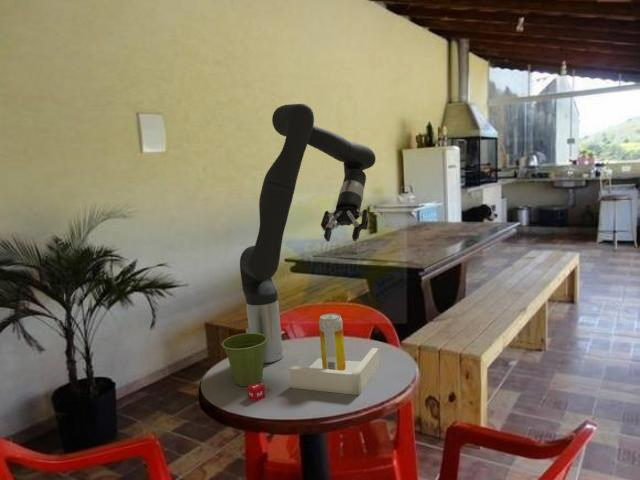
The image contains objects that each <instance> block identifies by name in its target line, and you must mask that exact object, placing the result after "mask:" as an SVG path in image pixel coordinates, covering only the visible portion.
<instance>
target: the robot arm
mask: <svg viewBox="0 0 640 480" xmlns="http://www.w3.org/2000/svg"><path fill="white" fill-rule="evenodd" d="M271 119H272V120H271V121H272V126H273V128H274V130H275V132H276V133H278V134H279V135H281V136H283V137H285V140H284V143H283V147H282V149H281V151H280V152H279V155H278V156H277V157H276V158H275V160H274V162H273V163H272V165H271V166H270V167H269V169H268V170H267V172H266V174H265V176H264V179H263V182H262V186H261V190H260V194H259V200H258V201H259V202H258V209H259V210H258V212H259V228H258V235H257V238H256V240H255V241H256V242H255V244H254V245H251V246H248V247H246V248H245V249H244V250H243V251H242V253H241V255H240V257H239V271H240V278H241V279H240V280H241V286H242V292H243V294H244V298H245V304H246V305H245V306H246V315H247V322H248V325H247V327H246V329H245V333H259V334H263V335H265V336H267V341H266V342H265V349H264V360H263V364H269V363H274V362H278V361H279V360H281V359H283V357H284V354H283V340H282V331H281V330H282V329H281V319H280V309H279V307H280V306H279V296H278V290H277V289H276V287H275V286H274V285H275V284H274V283H273V278H272V277H274V276H275V274H276V273H277V271H278V269H279V264H280V259H281V251H282V245H283V236H284V232H285V228H286V226H287V221H288V217H289V213H290V210H291V205H292V202H293V198H294V195H295V194H294V193H295V190H296V184H297V181H298V177H299V173H300V169H301V164H302V161H303V158H304V155H305V151H306V149H307V146H310V147H312V148H314V149H316V150H318V151H320V152H323V153H324V154H326V155H328V156H329V157H331V158H333V159H334V160H337V161H338V162H340V163H343V171H344V172H343V173H344V178H343V182H342V185H341V188H340V189H339V194H338V198H337V201H336V204H335V205H336V206H335V210H334V211H333V212H329V210H326V211H325V212H324V214H323V217H322V219H321V223H320V227H321V228H322V231H323V232H324V234H323V236H324V239H325V241H326V242H330V241H331V237H332V234H333V233H332V232H333V230H335V229H337V228H339V227H340V226H341V227H342V226H351V225H353V231H352V236H351V238H352V241H353V242H357V240H359V237H360V232H361V231H362V230H364V231H366V230H367V229H368V226H369V219H370V215H369V212H368V210H367V209H363V210H362V211H361V207H362V202H363V200H364V191H365V186H366V181H367V175H366V173H365V172H364V171H365V170H368V169H370V168H372V167H373V166H374V165H375V164H376V159H377V158H376V155H375V154H376V153H374V150H372V149H371V148H370V147H369V146H367V145H365V144H361V143H357V142H353V141H349V140H348V139H346V138H344V137H343V136H341V135H339V134H338V133H335V132H333V131H330V130H327V129H326V128H325V129H324V128H321V127H318V126H317V125H314V124H315V117H314V112H313V109H312V108H311V107H310V106H309V105H308V104H305V103H292V104H283V105H281V106H279V107H276V109H275V110H274V112H273V114H272V118H271ZM360 217H361V223H359V222H358V221H357V220H358V219H359V218H360Z"/></svg>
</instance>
